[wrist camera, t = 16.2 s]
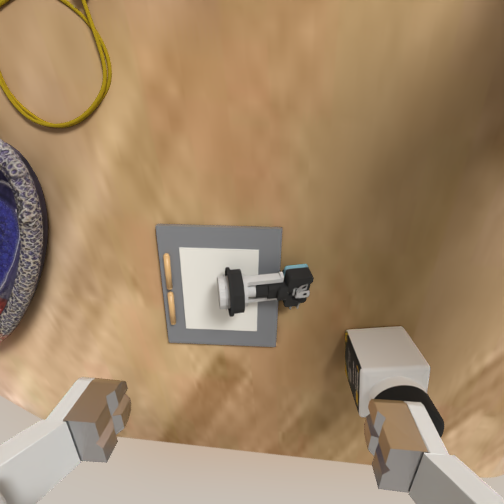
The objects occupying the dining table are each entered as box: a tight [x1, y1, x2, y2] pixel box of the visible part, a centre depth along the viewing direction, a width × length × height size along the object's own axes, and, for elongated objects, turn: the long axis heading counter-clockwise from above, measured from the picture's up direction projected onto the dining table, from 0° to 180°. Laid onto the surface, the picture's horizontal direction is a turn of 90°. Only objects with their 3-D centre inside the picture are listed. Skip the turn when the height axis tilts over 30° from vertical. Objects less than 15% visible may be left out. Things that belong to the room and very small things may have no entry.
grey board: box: [156, 224, 282, 347], centre depth 36 cm, size 14×16×1 cm
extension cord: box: [0, 0, 112, 128], centre depth 27 cm, size 12×16×2 cm
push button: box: [217, 264, 314, 317], centre depth 33 cm, size 7×5×10 cm
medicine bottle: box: [345, 326, 444, 438], centre depth 33 cm, size 7×7×12 cm
